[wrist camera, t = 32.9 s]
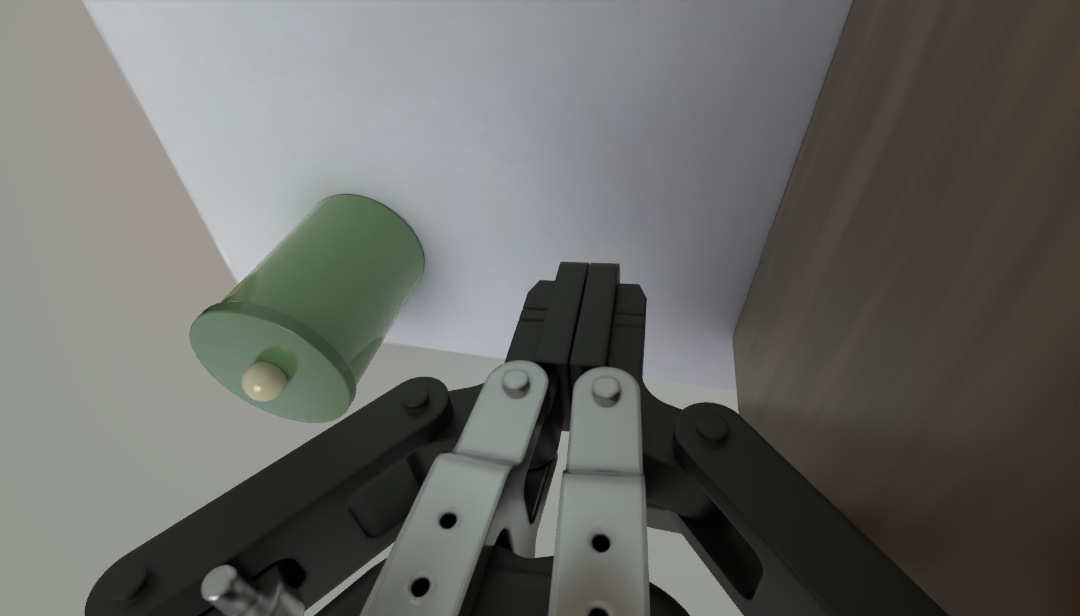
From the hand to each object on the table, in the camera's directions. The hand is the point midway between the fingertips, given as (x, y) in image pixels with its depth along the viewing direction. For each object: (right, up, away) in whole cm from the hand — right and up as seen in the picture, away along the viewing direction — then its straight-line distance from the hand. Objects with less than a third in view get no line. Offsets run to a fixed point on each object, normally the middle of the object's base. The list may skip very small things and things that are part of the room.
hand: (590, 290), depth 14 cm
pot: (-10, +3, +13) cm, 17 cm away
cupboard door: (+6, +6, +5) cm, 10 cm away
